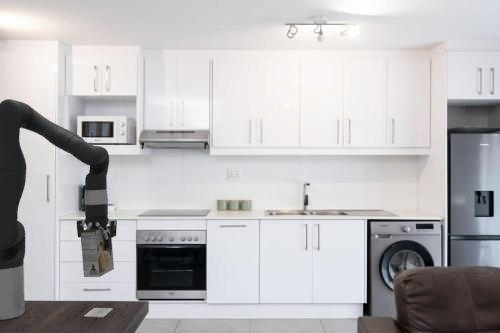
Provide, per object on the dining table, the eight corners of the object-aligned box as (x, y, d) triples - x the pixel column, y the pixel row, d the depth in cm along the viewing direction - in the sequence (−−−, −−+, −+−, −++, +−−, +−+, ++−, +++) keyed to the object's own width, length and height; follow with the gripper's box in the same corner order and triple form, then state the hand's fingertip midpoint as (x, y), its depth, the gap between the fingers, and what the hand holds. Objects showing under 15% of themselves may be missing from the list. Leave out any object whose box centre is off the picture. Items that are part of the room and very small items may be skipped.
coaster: (83, 316, 131) (83, 315, 131) (94, 309, 138) (94, 307, 138) (103, 317, 131) (103, 316, 131) (112, 309, 138) (112, 308, 138)
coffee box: (98, 269, 140) (95, 225, 139) (114, 269, 138) (111, 225, 138) (83, 277, 131) (79, 230, 130) (99, 277, 129) (96, 230, 129)
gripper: (71, 203, 131) (71, 251, 131) (111, 203, 130) (112, 252, 130) (82, 201, 138) (83, 247, 139) (120, 201, 137) (121, 247, 137)
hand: (97, 249), depth 134 cm, fingers closed on coffee box, 6 cm apart
